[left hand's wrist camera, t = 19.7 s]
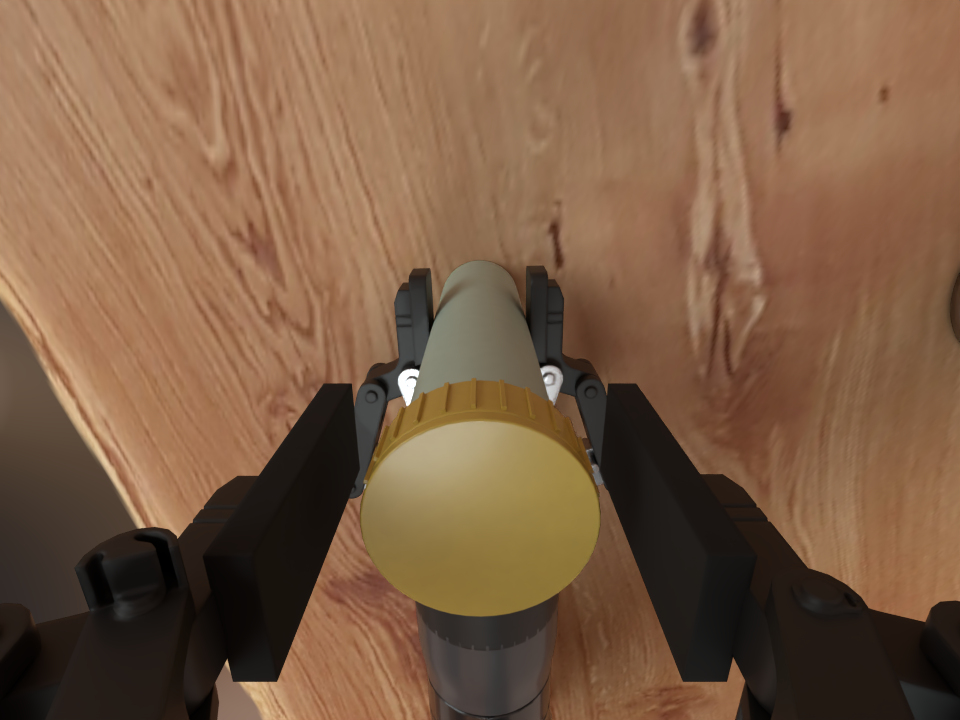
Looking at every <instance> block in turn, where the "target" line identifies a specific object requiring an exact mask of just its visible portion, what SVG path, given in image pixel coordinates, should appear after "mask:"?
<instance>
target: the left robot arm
mask: <svg viewBox="0 0 960 720" xmlns="http://www.w3.org/2000/svg"><path fill="white" fill-rule="evenodd" d="M359 471H360V463H359V453H358V443H357V432H356V422H355V412H354V402H353V392H352V384H323V386H322V387H321V388H320V390H319V391H318V393H317V394H316V396H315V397H314V398H313V400H312V401H311V403H310V404H309V405H308V407H307V408H306V410H305V411H304V413H303V414H302V415H301V417H300V418H299V420H298V421H297V422H296V424H295V425H294V427H293V428H292V430H291V431H290V432H289V434H288V435H287V437H286V438H285V439H284V441H283V442H282V444H281V445H280V447H279V448H278V449H277V451H276V452H275V454H274V455H273V456H272V458H271V459H270V461H269V462H268V464H267V465H266V466H265V468H264V469H263V471H262V472H261V473H260V475H259V476H237V477H235V478H234V479H232V480H231V481H229V482H228V483H226V484H225V485H224V486H222V487H221V488H219V489H218V490H217V491H216V492H215V493H214V494H213V496H212V497H211V498H210V499H209V501H208V502H207V503H206V504H205V506H204V509H201V510H200V512H199V513H198V514H197V515H196V517H195V518H194V519H193V523H190V524H189V525H188V527H187V528H186V529H185V530H184V532H183V533H182V534H181V535H180V537H179V538H178V539H177V536H176V535H175V534H174V533H172V532H171V531H170V530H168V529H163V528H157V527H151V528H141V529H136V530H132V531H129V532H125V533H122V534H119V535H117V536H115V537H112V538H111V539H108V540H106V541H104V542H102V543H100V544H99V545H98V546H96V547H95V548H93V549H92V550H91V551H89V552H88V553H87V554H85V555H84V556H83V558H82V559H81V560H80V562H79V563H78V564H77V565H76V567H75V571H76V574H77V576H78V579H79V582H80V585H81V588H82V590H83V593H84V596H85V599H86V601H87V604H88V607H89V610H90V611H88V612H85V613H81V614H77V615H73V616H69V617H65V618H60V619H56V620H52V621H48V622H44V623H39V624H35V622H34V620H33V617H32V615H31V613H30V610H29V609H27V608H26V607H24V606H23V605H22V604H13V603H2V604H0V720H217V716H218V707H219V700H218V693H217V688H216V684H215V682H216V680H217V678H218V676H219V674H220V672H221V670H222V668H223V666H224V664H225V662H226V660H227V659H228V663H229V667H230V671H231V675H232V679H233V682H277V680H278V678H279V675H280V673H281V670H282V668H283V665H284V663H285V660H286V657H287V655H288V652H289V650H290V647H291V645H292V642H293V640H294V637H295V634H296V632H297V629H298V627H299V624H300V622H301V619H302V617H303V614H304V611H305V609H306V606H307V604H308V601H309V599H310V596H311V594H312V591H313V588H314V586H315V583H316V581H317V578H318V576H319V573H320V571H321V568H322V565H323V563H324V560H325V558H326V555H327V553H328V550H329V547H330V545H331V542H332V540H333V537H334V535H335V532H336V530H337V527H338V524H339V522H340V519H341V517H342V514H343V512H344V509H345V507H346V504H347V501H348V499H349V496H350V494H351V491H352V489H353V486H354V484H355V481H356V478H357V476H358V473H359ZM600 471H601V473H602V476H603V478H604V481H605V484H606V486H607V489H608V491H609V494H610V496H611V499H612V501H613V504H614V507H615V509H616V512H617V514H618V517H619V519H620V522H621V524H622V527H623V530H624V532H625V535H626V537H627V540H628V542H629V545H630V547H631V550H632V553H633V555H634V558H635V560H636V563H637V565H638V568H639V571H640V573H641V576H642V578H643V581H644V583H645V586H646V588H647V591H648V594H649V596H650V599H651V601H652V604H653V606H654V609H655V611H656V614H657V617H658V619H659V622H660V624H661V627H662V629H663V632H664V634H665V637H666V640H667V642H668V645H669V647H670V650H671V652H672V655H673V657H674V660H675V663H676V665H677V668H678V670H679V673H680V675H681V678H682V680H683V682H727V679H728V675H729V671H730V667H731V663H732V659H733V657H734V659H735V661H736V663H737V665H738V667H739V669H740V671H741V673H742V675H743V677H744V679H745V684H744V688H743V692H742V696H741V699H740V703H739V707H738V711H737V715H736V719H735V720H960V601H944V602H939V603H938V604H936V605H935V606H933V607H932V608H931V610H930V613H929V615H928V617H927V620H926V622H922V621H918V620H914V619H909V618H905V617H901V616H897V615H892V614H888V613H884V612H880V611H876V610H873V609H869V608H868V607H867V605H866V604H865V602H864V601H863V599H862V598H861V597H860V596H859V595H858V594H857V593H856V592H855V591H853V590H852V589H851V588H850V587H849V586H847V585H846V584H844V583H843V582H841V581H839V580H837V579H835V578H833V577H832V576H830V575H828V574H825V573H822V572H819V571H816V570H813V569H808V568H807V566H806V565H805V564H804V563H803V561H802V560H801V559H800V558H799V556H798V555H797V554H796V553H795V552H794V550H793V549H792V548H791V547H790V545H789V544H788V543H787V542H786V540H785V539H784V538H783V537H782V535H781V534H780V533H779V532H778V531H777V529H776V528H775V527H774V526H773V524H772V523H771V522H768V520H767V517H766V516H765V514H764V513H763V512H762V511H761V510H760V508H757V506H756V503H755V502H754V501H753V500H752V498H751V497H750V496H749V495H748V493H747V492H746V491H745V490H744V488H742V487H741V486H739V485H738V484H736V483H735V482H733V481H732V480H730V479H729V478H727V477H726V476H724V475H723V474H700V473H699V472H698V471H697V469H696V468H695V466H694V465H693V464H692V462H691V461H690V459H689V458H688V456H687V455H686V454H685V452H684V451H683V449H682V448H681V447H680V445H679V444H678V442H677V441H676V439H675V438H674V437H673V435H672V434H671V432H670V431H669V430H668V428H667V427H666V425H665V424H664V422H663V421H662V420H661V418H660V417H659V415H658V414H657V413H656V411H655V410H654V408H653V407H652V405H651V404H650V403H649V401H648V400H647V398H646V397H645V396H644V394H643V393H642V391H641V390H640V388H639V387H638V386H637V384H608V392H607V402H606V412H605V422H604V432H603V443H602V453H601V463H600Z"/></svg>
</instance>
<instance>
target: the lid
mask: <svg viewBox="0 0 960 720" xmlns="http://www.w3.org/2000/svg"><path fill="white" fill-rule="evenodd" d="M592 473H594V471H593V468H592V466H591V463H590V460H589V457H588V455H587V452H586V449H585V447H584V444H583V441H582V439H581V437H578V438H577V436H576V434H575V431H574V429H573V426H572V423H571V420H570V418H569V417H566V418H565V417H564V416H563V415H562V414H561V413H560V412H559V411H558V410H557V409H556V408H555V407H554V405H553V402H552V401H551V400H550V399H549V400H548V401H546V400H544V399H543V398H541V397H540V396H538V395H536V394H535V393H532V392H531V390H530V388H528V387H525V389H524V388H521V387H518V386H514V385H511V384H508V383H504V380H500V379H499V382H496V381H484V380H476V378H472V379H471V381H464V382H459V383H453V384H449V382H447V383H444V386H443V387H440V388H437V389H435V390H432V391H430V392H428V393H426V394H425V393H424V392H422V393H420V394H419V398H418V399H416V400H415V401H413V402H412V403H411V404H409V405H408V406H407V407H406V408H405V409H404V408H403V407H401V408H400V409H399V411H398V415H397V417H396V418H395V419H394V420H393V422H392V423H391V425H390V426H389V427H388V426H387V425H386V426H385V428H384V430H383V433H382V436H381V438H380V441H379V444H378V447H376V448H375V451H374V454H373V456H372V459H371V462H370V465H369V467H368V470H367V473H366V476H365V478H364V482H363V484H366V487H365V490H364V494H363V497H362V501H361V508H360V527H361V532H362V537H363V541H364V544H365V547H366V549H367V552H368V554H369V556H370V558H371V560H372V561H373V563H374V565H375V566H376V567H377V569H378V570H379V571H380V573H381V574H382V575H383V576H384V577H385V578H386V579H387V580H388V581H389V583H390V584H392V585H393V586H394V587H395V588H397V589H398V590H399V591H400V592H402V593H403V594H405V595H406V596H408V597H410V598H411V599H413V600H415V601H417V602H419V603H421V604H423V605H425V606H428V607H430V608H433V609H436V610H439V611H443V612H447V613H451V614H457V615H464V616H480V617H482V616H497V615H504V614H510V613H514V612H518V611H521V610H525V609H527V608H530V607H533V606H535V605H538V604H540V603H542V602H544V601H546V600H548V599H550V598H551V597H553V596H554V595H556V594H557V593H559V592H560V591H562V590H563V589H564V588H565V587H566V586H568V585H569V584H570V583H571V582H572V581H573V580H574V579H575V578H576V577H577V576H578V575H579V574H580V572H581V571H582V569H583V568H584V567H585V565H586V564H587V562H588V561H589V559H590V557H591V555H592V553H593V551H594V548H595V545H596V542H597V539H598V535H599V530H600V519H601V511H600V504H599V498H598V497H599V496H600V494H599V490H598V488H597V485H596V482H595V479H594V477H593V474H592Z"/></svg>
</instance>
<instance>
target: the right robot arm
mask: <svg viewBox="0 0 960 720" xmlns="http://www.w3.org/2000/svg"><path fill="white" fill-rule="evenodd" d="M394 306H395V315H396V325H397V327H396V328H397V339H398V350H399V358H398V359H397V360H395V361H392V362H390V363H387V364H385V363H377V364H374V365H373V366H372V367H371V368H370V370H369V372H368V374H367V378H366V380H365V382H364V383H363V384H362V385H361V387H360V389H359V391H358V393H357V398H356V402H355V407H354V412H355V422H356V432H357V443H358V453H359V463H360V471H359V473H358V476H357V478H356V481H355V484H354V486H353V489H352V491H351V494H350V496H349V498H351V499H352V498H357V497H359V496H360V495H361V494H362V492H363V489H365V487H366V484H363V482H364V478H365V476H366V473H367V470H368V467H369V465H370V462H371V459H372V456H373V454H374V451H375V448H376V447H378V444H379V443H378V441H379V437H380V433H381V429H382V425H383V421H384V417H385V413H386V409H387V405H388V401H390V400H392V399H395V398H398V397H401V396H403V398H404V400H405V403H406V405H407V406H408V405H409V404H410V401H411V398H412V395H413V391H414V388H415V384H416V381H417V377H418V374H419V370H420V367H421V364H422V360H423V357H424V353H425V350H426V346H427V343H428V340H429V336H430V333H431V329H432V326H433V322H434V314H433V298H432V282H431V271H430V268H422V269H413V270H412V272H411V273H410V275H409V283H403V284H402V285H401V287H400V288H399V290H398V292H397V296H396V299H395V302H394ZM563 310H564V298H563V295H562V292H561V290H560V287H559V285H558V284H557V282H556V281H555V279H548V274H547V271H546V269H545V268H544V266H527V268H526V322H527V325H528V329H529V332H530V335H531V339H532V342H533V346H534V349H535V352H536V356H537V359H538V363H539V366H540V369H541V373H542V376H543V380H544V383H545V386H546V390H547V393H548V397H549V399H550V400H551V401H552V402H553V405H555V402H556V399H557V396H558V393H559V392H561V393H565V394H568V395H571V396H574V397H575V399H576V402H577V406H578V409H579V412H580V415H581V418H582V422H583V425H584V428H585V431H586V435H587V438H588V439H587V438H583V439H582V441H583V444H584V447H585V449H586V452H587V455H588V457H589V460H590V463H591V466H592V468H593V471H594V473H592V474H593V477H594V479H595V482H596V485H597V486H598V485H602V484H604V486H605V488H606V489H607V486H606V484H605V481H604V478H603V476H602V473H601V471H600V463H601V453H602V443H603V432H604V422H605V412H606V402H607V395H606V391H605V388H604V385H603V384H602V382H601V380H600V378H599V376H598V375H597V373H596V371H595V369H594V367H593V366H592V364H591V363H590V362H589V361H588V360H586V359H573V358H570V357H567V356H565V355H564V354H562V339H563ZM950 312H951V322H952V327H953V330H954V333H955V335H956V337H957V339H958V340H959V342H960V273H959V276H958V278H957V281H956V283H955V286H954V290H953V294H952V299H951V309H950ZM607 490H608V489H607ZM415 602H416V613H417V623H418V633H419V640H420V645H421V649H422V653H423V656H424V660H425V663H426V668H427V681H428V692H429V703H430V713H431V720H552V715H551V709H550V682H551V660H552V656H553V652H554V647H555V642H556V635H557V617H558V593H557V594H556V595H554V596H553V597H551V598H550V599H548V600H546V601H544V602H542V603H540V604H538V605H535V606H533V607H530V608H527V609H525V610H521V611H518V612H514V613H510V614H504V615H497V616H482V617H480V616H464V615H457V614H451V613H447V612H443V611H439V610H436V609H433V608H430V607H428V606H425V605H423V604H421V603H419V602H417V601H415Z"/></svg>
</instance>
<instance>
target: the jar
mask: <svg viewBox="0 0 960 720" xmlns="http://www.w3.org/2000/svg"><path fill="white" fill-rule="evenodd" d="M472 378H476V380H484V381H496V382H499V379H500V380H504V383H508V384H511V385H514V386H518V387H521V388H524V389H525V387H528V388H530V390H531V392H532V393H535V394H536V395H538V396H540V397H541V398H543V399H544V400H546V401H548V400H549V397H548V393H547V390H546V386H545V383H544V380H543V376H542V373H541V369H540V366H539V363H538V359H537V356H536V352H535V349H534V346H533V342H532V339H531V335H530V332H529V329H528V325H527V322H526V318H525V315H524V312H523V308H522V305H521V301H520V298H519V295H518V291H517V288H516V285H515V282H514V280H513V279H512V277H511V276H510V274H509V273H508V272H507V271H506V270H505V269H504V268H502V267H501V266H499V265H497V264H495V263H493V262H489V261H482V260H478V261H471V262H468V263H465V264H463V265H461V266H459V267H458V268H457V269H455V270H454V271H453V272H452V273H451V274H450V276H449V277H448V279H447V280H446V282H445V285H444V288H443V291H442V295H441V298H440V302H439V305H438V309H437V312H436V315H435V319H434V322H433V326H432V329H431V333H430V336H429V340H428V343H427V346H426V350H425V353H424V357H423V360H422V364H421V367H420V370H419V374H418V377H417V381H416V384H415V388H414V391H413V395H412V398H411V401H410V404H411V403H412V402H413V401H415V400H416V399H418V398H419V394H420V393H422V392H424V393H425V394H426V393H428V392H430V391H432V390H435V389H437V388H440V387H443V386H444V383H447V382H449V384H453V383H459V382H464V381H471V379H472Z"/></svg>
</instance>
